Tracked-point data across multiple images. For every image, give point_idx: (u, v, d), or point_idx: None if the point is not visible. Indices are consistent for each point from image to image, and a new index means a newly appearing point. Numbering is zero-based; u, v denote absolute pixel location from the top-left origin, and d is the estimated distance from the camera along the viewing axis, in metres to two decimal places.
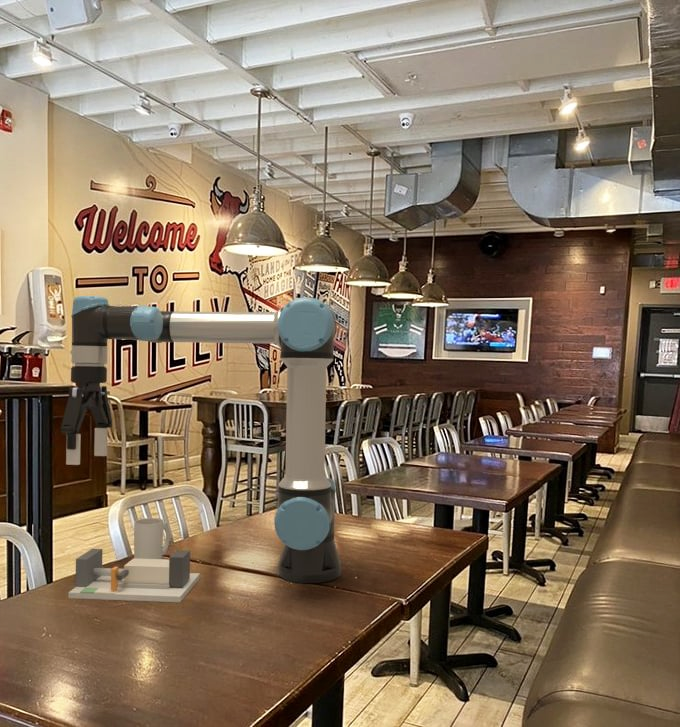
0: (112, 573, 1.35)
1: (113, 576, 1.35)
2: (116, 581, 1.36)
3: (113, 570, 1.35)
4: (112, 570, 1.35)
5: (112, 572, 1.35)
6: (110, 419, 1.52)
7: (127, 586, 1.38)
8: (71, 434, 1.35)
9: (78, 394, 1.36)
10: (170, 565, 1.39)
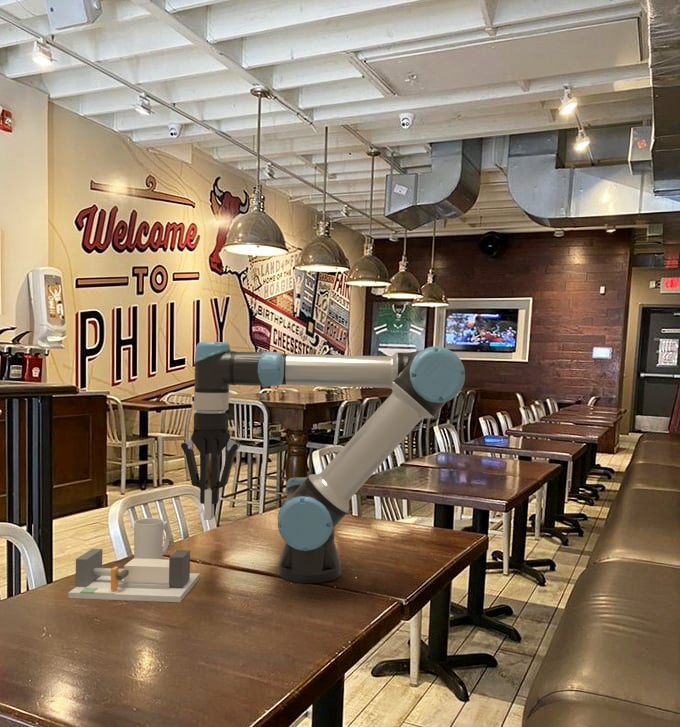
0: (112, 573, 1.35)
1: (113, 576, 1.35)
2: (116, 581, 1.36)
3: (113, 570, 1.35)
4: (112, 570, 1.35)
5: (112, 572, 1.35)
6: (222, 481, 1.39)
7: (127, 586, 1.38)
8: None
9: None
10: (170, 565, 1.39)
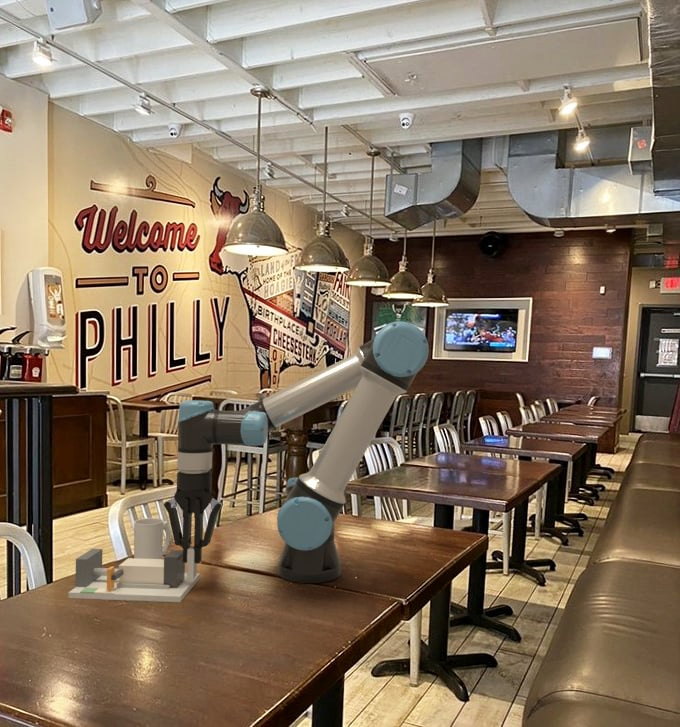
0: (108, 573, 1.35)
1: (109, 576, 1.35)
2: (112, 581, 1.36)
3: (109, 570, 1.35)
4: (108, 570, 1.35)
5: (108, 572, 1.35)
6: (205, 541, 1.40)
7: (127, 586, 1.38)
8: None
9: None
10: (165, 565, 1.39)
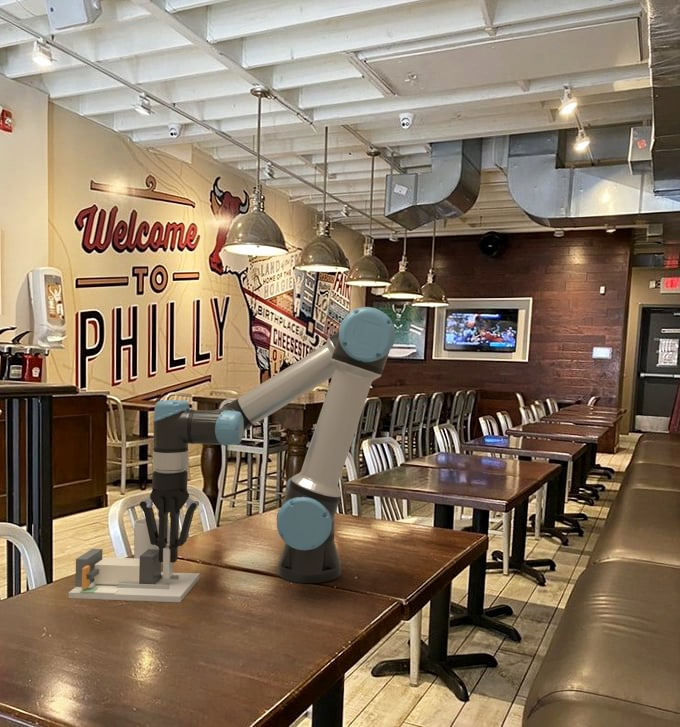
0: (83, 572, 1.35)
1: (84, 575, 1.35)
2: (87, 580, 1.36)
3: (84, 569, 1.35)
4: (83, 569, 1.35)
5: (83, 571, 1.35)
6: (181, 540, 1.40)
7: (127, 586, 1.38)
8: None
9: None
10: (140, 564, 1.39)
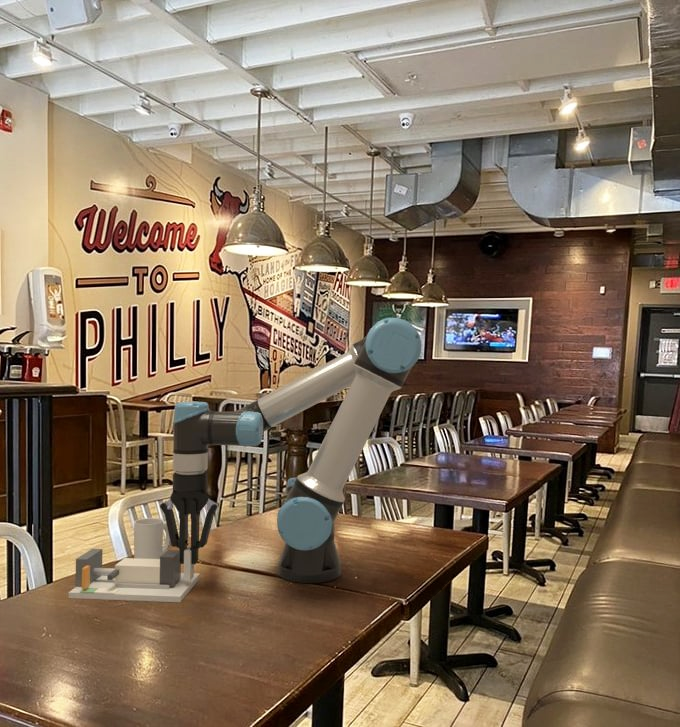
0: (83, 572, 1.35)
1: (84, 575, 1.35)
2: (87, 580, 1.36)
3: (84, 569, 1.35)
4: (83, 569, 1.35)
5: (83, 571, 1.35)
6: (202, 542, 1.40)
7: (127, 586, 1.38)
8: None
9: None
10: (161, 565, 1.39)
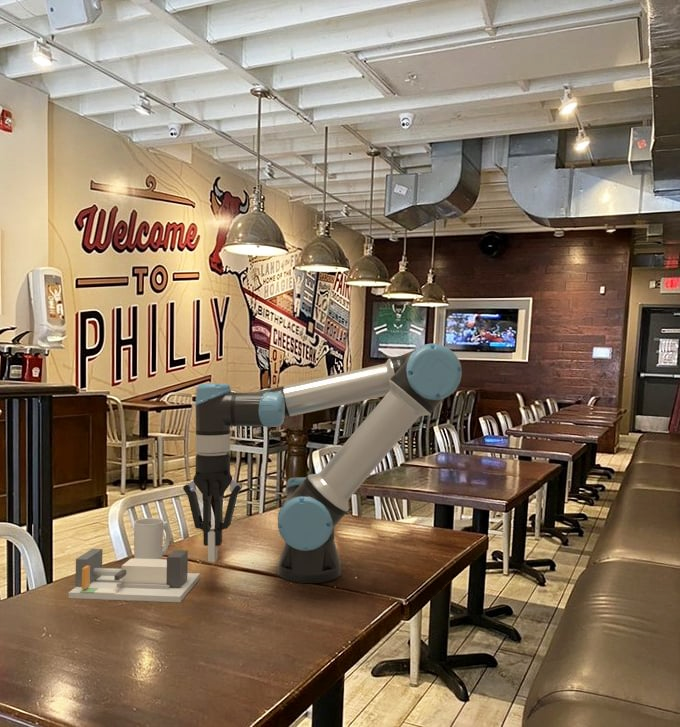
0: (83, 572, 1.35)
1: (84, 575, 1.35)
2: (87, 580, 1.36)
3: (84, 569, 1.35)
4: (83, 569, 1.35)
5: (83, 571, 1.35)
6: (226, 523, 1.39)
7: (127, 586, 1.38)
8: None
9: None
10: (168, 565, 1.39)
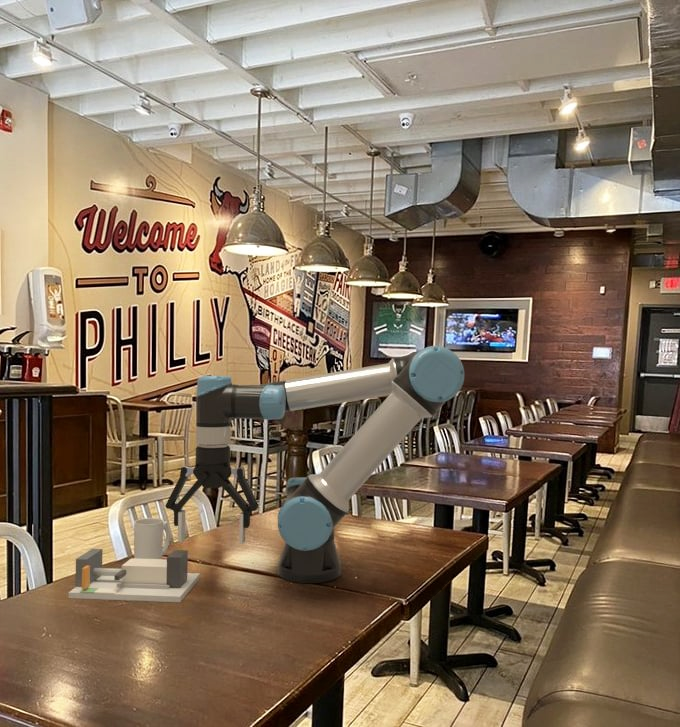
0: (83, 572, 1.35)
1: (84, 575, 1.35)
2: (87, 580, 1.36)
3: (84, 569, 1.35)
4: (83, 569, 1.35)
5: (83, 571, 1.35)
6: (252, 505, 1.39)
7: (127, 586, 1.38)
8: None
9: None
10: (168, 565, 1.39)
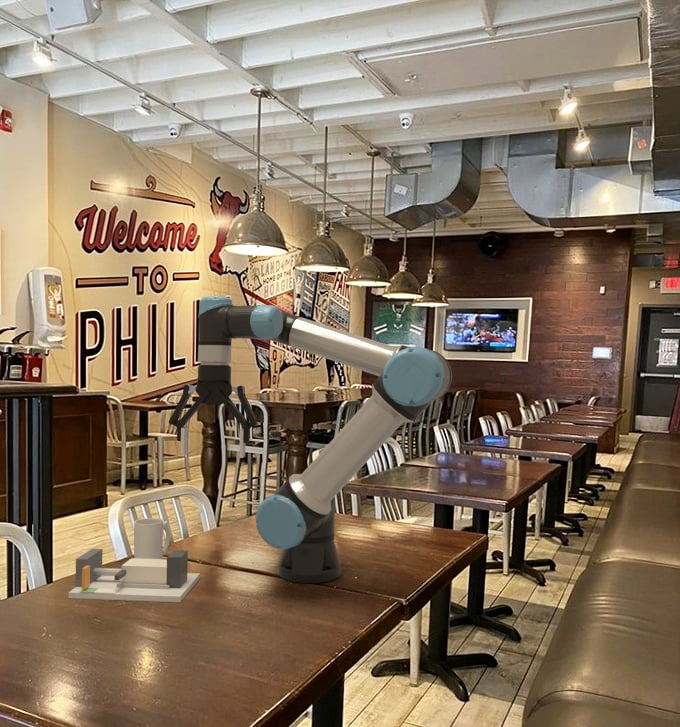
0: (83, 572, 1.35)
1: (84, 575, 1.35)
2: (87, 580, 1.36)
3: (84, 569, 1.35)
4: (83, 569, 1.35)
5: (83, 571, 1.35)
6: (252, 421, 1.45)
7: (127, 586, 1.38)
8: None
9: None
10: (168, 565, 1.39)
